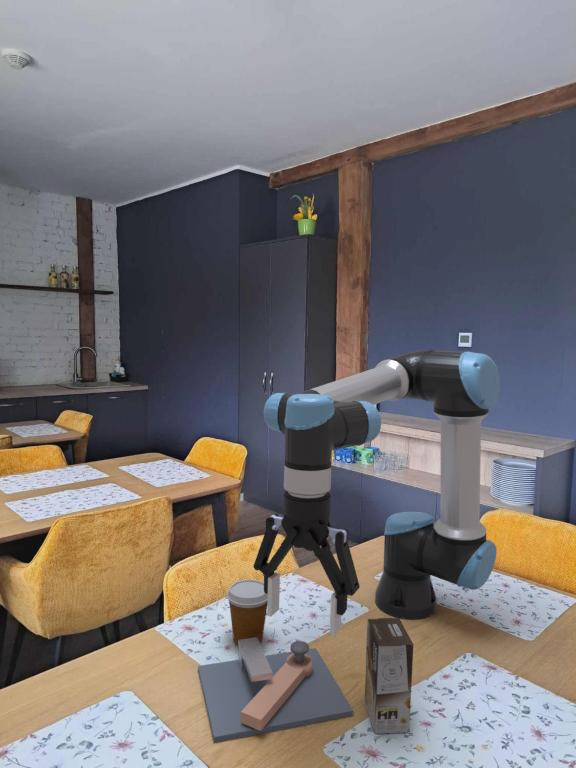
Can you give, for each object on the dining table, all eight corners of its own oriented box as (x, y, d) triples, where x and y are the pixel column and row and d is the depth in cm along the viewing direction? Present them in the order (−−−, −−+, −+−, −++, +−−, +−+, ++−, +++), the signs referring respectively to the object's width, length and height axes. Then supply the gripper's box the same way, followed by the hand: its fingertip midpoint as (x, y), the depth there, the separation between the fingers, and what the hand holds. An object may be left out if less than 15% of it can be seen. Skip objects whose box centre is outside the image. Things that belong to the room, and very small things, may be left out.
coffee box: (410, 733, 95) (415, 645, 94) (374, 734, 95) (378, 646, 93) (396, 697, 104) (399, 616, 103) (362, 698, 104) (365, 617, 102)
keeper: (256, 662, 114) (257, 637, 113) (272, 700, 103) (272, 672, 102) (237, 665, 113) (238, 639, 112) (250, 704, 101) (251, 676, 101)
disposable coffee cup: (263, 655, 117) (264, 601, 115) (220, 649, 118) (221, 596, 117) (273, 631, 126) (274, 581, 125) (233, 626, 128) (234, 576, 126)
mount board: (315, 652, 118) (315, 647, 118) (352, 715, 99) (353, 710, 99) (198, 670, 111) (198, 665, 111) (214, 742, 92) (214, 737, 92)
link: (293, 659, 113) (294, 636, 113) (316, 667, 111) (317, 643, 110) (237, 721, 95) (238, 694, 95) (263, 732, 93) (264, 704, 92)
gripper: (384, 497, 86) (378, 630, 89) (257, 475, 97) (255, 594, 100) (367, 510, 80) (361, 654, 82) (233, 485, 91) (231, 613, 93)
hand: (303, 621), depth 91 cm, fingers open, 11 cm apart
